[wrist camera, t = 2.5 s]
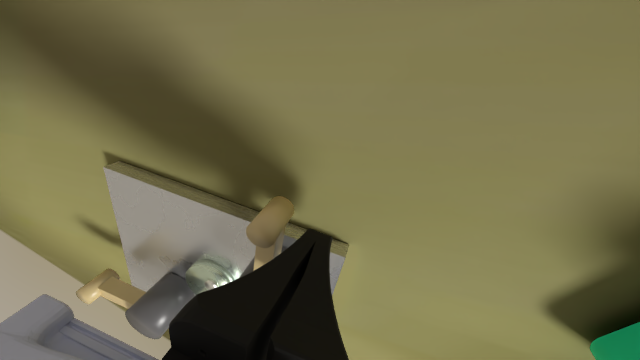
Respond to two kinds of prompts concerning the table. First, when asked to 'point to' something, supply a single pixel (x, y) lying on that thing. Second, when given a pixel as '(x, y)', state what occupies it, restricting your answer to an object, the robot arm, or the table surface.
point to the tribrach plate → (187, 231)
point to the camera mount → (618, 344)
